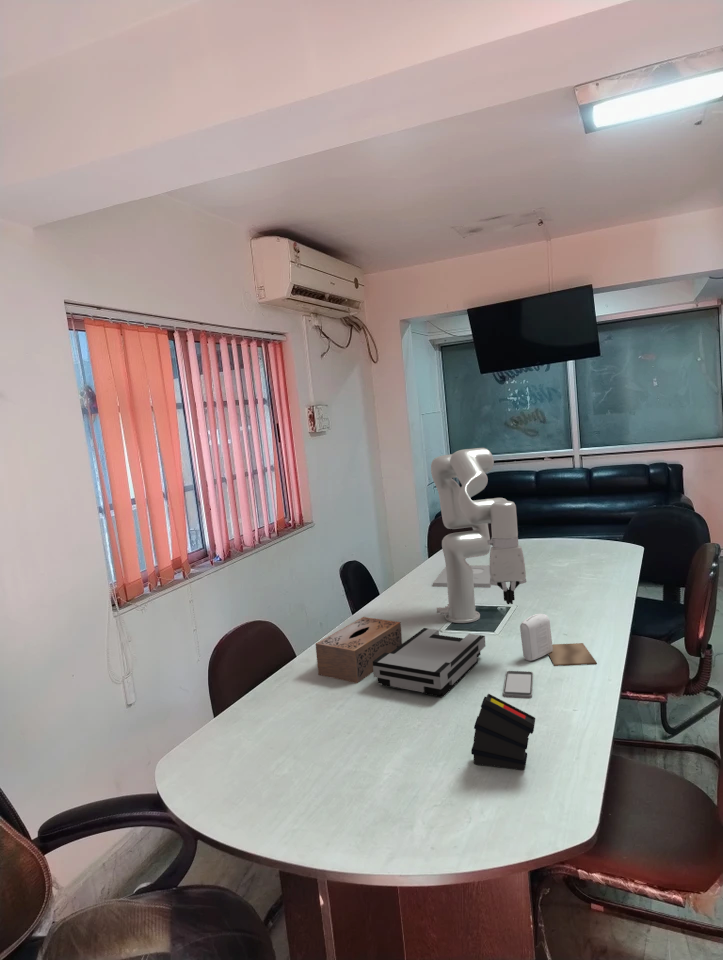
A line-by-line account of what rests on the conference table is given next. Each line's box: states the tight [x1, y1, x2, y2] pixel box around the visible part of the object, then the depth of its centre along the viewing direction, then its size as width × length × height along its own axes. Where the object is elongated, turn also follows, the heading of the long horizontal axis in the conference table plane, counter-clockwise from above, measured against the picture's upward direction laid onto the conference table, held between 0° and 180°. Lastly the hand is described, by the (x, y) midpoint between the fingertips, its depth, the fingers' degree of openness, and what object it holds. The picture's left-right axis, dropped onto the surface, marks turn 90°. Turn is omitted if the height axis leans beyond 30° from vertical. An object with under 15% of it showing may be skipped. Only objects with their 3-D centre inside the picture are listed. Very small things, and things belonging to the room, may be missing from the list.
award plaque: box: [432, 564, 492, 589], centre depth 280 cm, size 25×30×2 cm
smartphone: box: [502, 670, 534, 699], centre depth 170 cm, size 7×1×15 cm
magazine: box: [471, 693, 536, 771], centre depth 133 cm, size 4×13×15 cm, turn 70°
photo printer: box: [519, 613, 553, 662], centre depth 187 cm, size 10×4×12 cm, turn 123°
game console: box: [373, 627, 487, 698], centre depth 183 cm, size 21×32×8 cm, turn 148°
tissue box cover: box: [315, 616, 403, 684], centre depth 193 cm, size 26×14×10 cm, turn 146°
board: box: [547, 642, 598, 667], centre depth 187 cm, size 12×15×1 cm
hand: (509, 602), depth 186 cm, fingers closed
